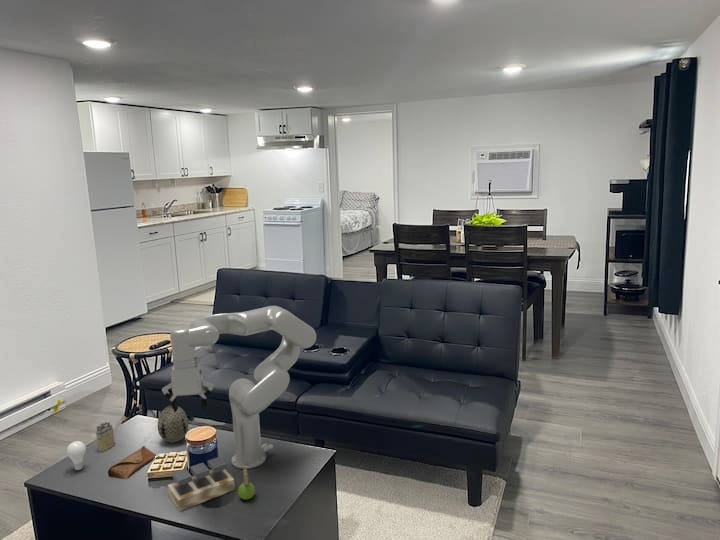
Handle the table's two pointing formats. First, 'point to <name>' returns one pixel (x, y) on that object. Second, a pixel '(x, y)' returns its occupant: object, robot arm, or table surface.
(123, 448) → the table surface
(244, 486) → the green maraca
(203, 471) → the switch middle
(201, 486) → the switch panel
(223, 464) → the switch
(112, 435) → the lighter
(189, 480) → the switch
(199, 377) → the robot arm
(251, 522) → the table surface
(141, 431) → the table surface
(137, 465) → the sunglasses case
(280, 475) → the table surface
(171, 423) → the decorative egg
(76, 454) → the lightbulb
